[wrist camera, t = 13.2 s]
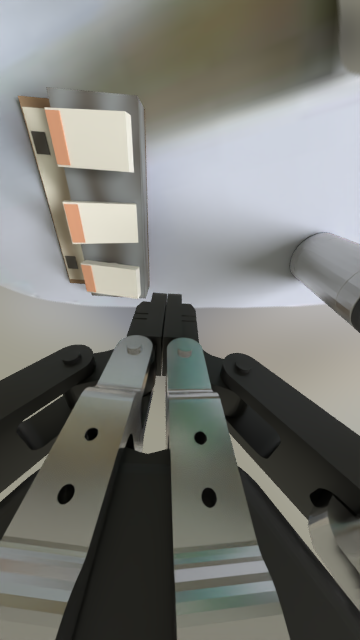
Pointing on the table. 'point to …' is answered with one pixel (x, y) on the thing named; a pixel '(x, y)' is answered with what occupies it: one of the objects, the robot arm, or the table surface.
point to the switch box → (91, 180)
